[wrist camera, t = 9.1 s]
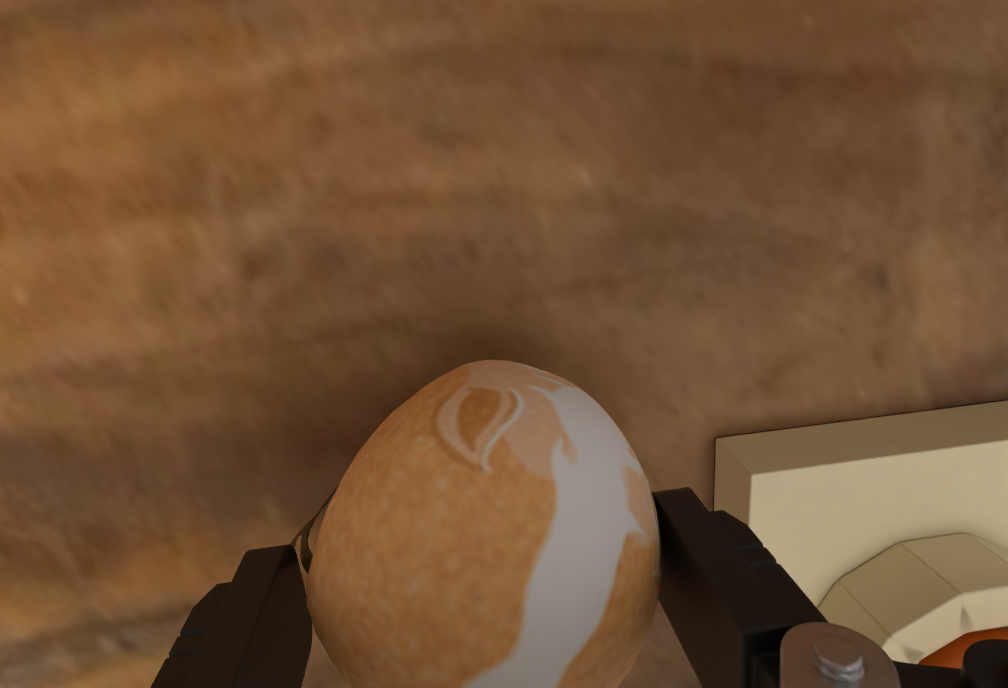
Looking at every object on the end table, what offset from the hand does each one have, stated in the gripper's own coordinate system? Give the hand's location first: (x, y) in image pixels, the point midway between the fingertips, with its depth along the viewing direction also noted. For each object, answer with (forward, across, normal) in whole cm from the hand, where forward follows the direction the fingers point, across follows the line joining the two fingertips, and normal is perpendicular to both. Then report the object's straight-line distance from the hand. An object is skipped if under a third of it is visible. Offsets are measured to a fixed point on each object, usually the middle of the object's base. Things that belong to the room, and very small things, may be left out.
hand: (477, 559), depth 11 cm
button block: (+5, -12, +7) cm, 14 cm away
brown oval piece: (+3, 0, 0) cm, 3 cm away
